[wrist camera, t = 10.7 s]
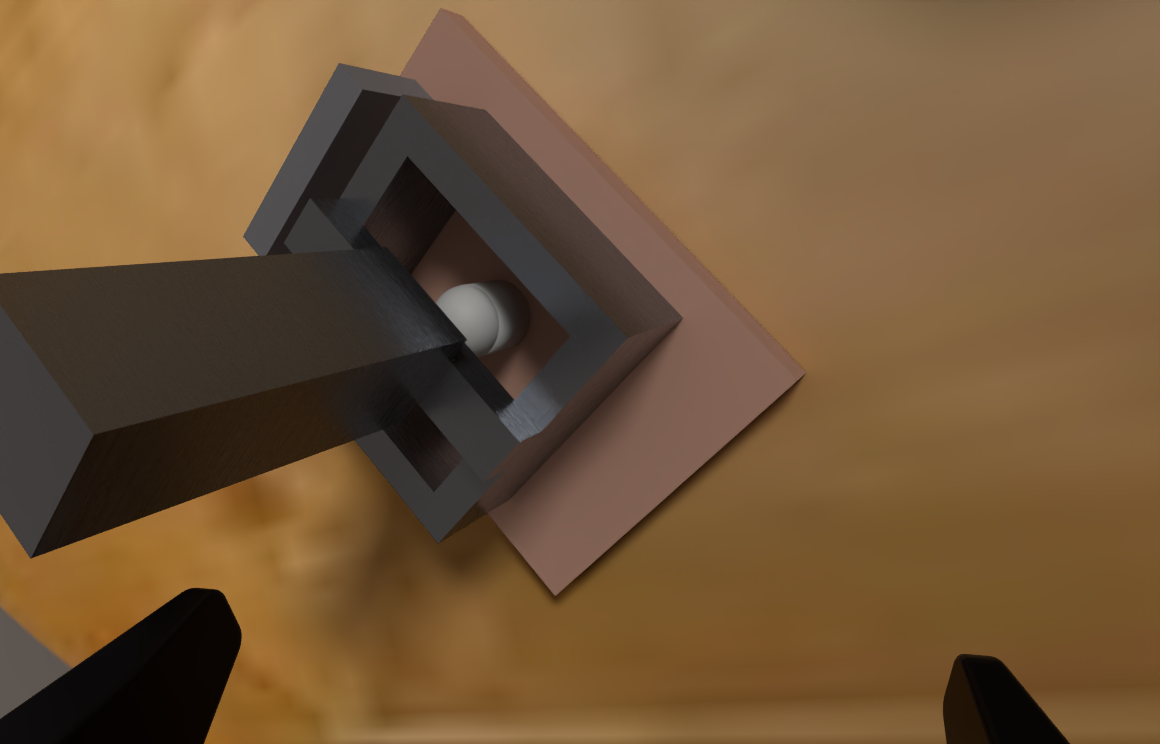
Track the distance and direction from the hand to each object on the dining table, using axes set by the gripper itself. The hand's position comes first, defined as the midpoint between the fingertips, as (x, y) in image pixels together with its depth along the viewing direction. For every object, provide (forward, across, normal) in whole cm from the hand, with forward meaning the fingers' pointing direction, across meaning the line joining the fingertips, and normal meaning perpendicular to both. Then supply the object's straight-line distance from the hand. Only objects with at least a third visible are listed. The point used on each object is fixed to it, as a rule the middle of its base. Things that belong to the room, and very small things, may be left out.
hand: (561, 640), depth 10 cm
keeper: (+14, +4, +3) cm, 15 cm away
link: (+13, +5, +3) cm, 14 cm away
